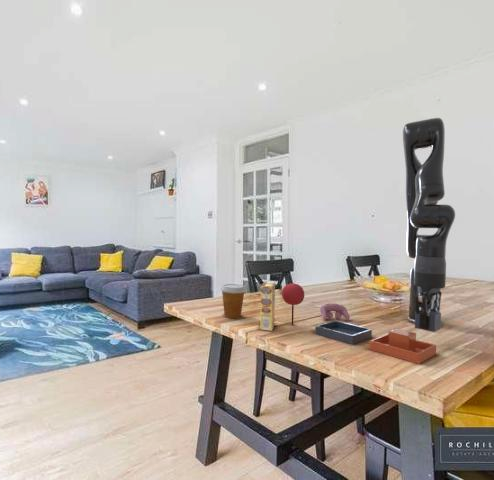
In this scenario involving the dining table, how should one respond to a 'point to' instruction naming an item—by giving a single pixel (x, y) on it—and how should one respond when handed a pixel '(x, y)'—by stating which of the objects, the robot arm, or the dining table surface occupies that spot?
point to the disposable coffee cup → (233, 299)
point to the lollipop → (293, 295)
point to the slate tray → (343, 332)
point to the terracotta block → (402, 339)
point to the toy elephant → (337, 308)
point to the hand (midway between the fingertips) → (427, 326)
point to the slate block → (430, 321)
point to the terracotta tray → (417, 356)
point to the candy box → (267, 306)
